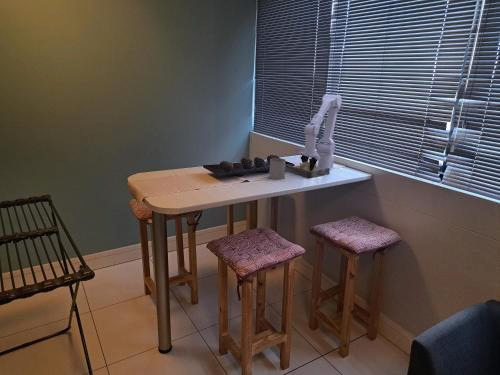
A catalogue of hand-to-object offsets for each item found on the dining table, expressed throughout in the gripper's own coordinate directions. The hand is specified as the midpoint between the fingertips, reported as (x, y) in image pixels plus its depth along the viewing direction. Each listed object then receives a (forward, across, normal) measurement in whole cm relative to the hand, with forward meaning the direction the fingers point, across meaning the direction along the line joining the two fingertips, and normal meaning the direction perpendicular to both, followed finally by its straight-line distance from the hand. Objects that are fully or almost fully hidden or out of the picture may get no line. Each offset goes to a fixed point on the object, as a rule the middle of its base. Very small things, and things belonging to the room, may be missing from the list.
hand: (308, 169), depth 197 cm
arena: (+3, -4, +1) cm, 5 cm away
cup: (+3, -4, -20) cm, 21 cm away
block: (+1, 0, 0) cm, 1 cm away
